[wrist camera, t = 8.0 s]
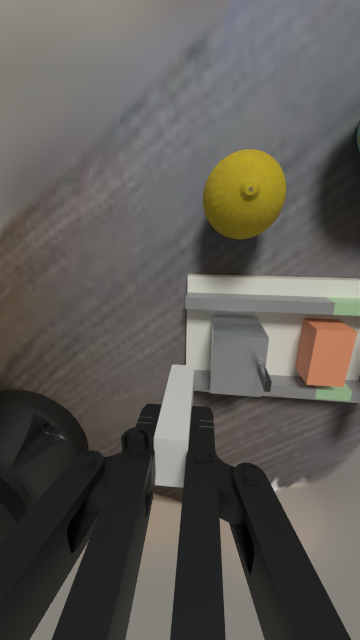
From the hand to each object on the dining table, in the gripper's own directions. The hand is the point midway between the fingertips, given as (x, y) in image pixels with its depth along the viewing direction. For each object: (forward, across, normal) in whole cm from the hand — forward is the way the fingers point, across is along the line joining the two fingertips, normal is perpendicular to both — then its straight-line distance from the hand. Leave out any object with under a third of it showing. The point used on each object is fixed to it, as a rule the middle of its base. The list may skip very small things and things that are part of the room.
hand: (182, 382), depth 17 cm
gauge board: (+9, +9, 0) cm, 12 cm away
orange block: (+8, +12, 0) cm, 14 cm away
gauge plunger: (+8, +4, 0) cm, 9 cm away
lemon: (+9, +4, +12) cm, 16 cm away
